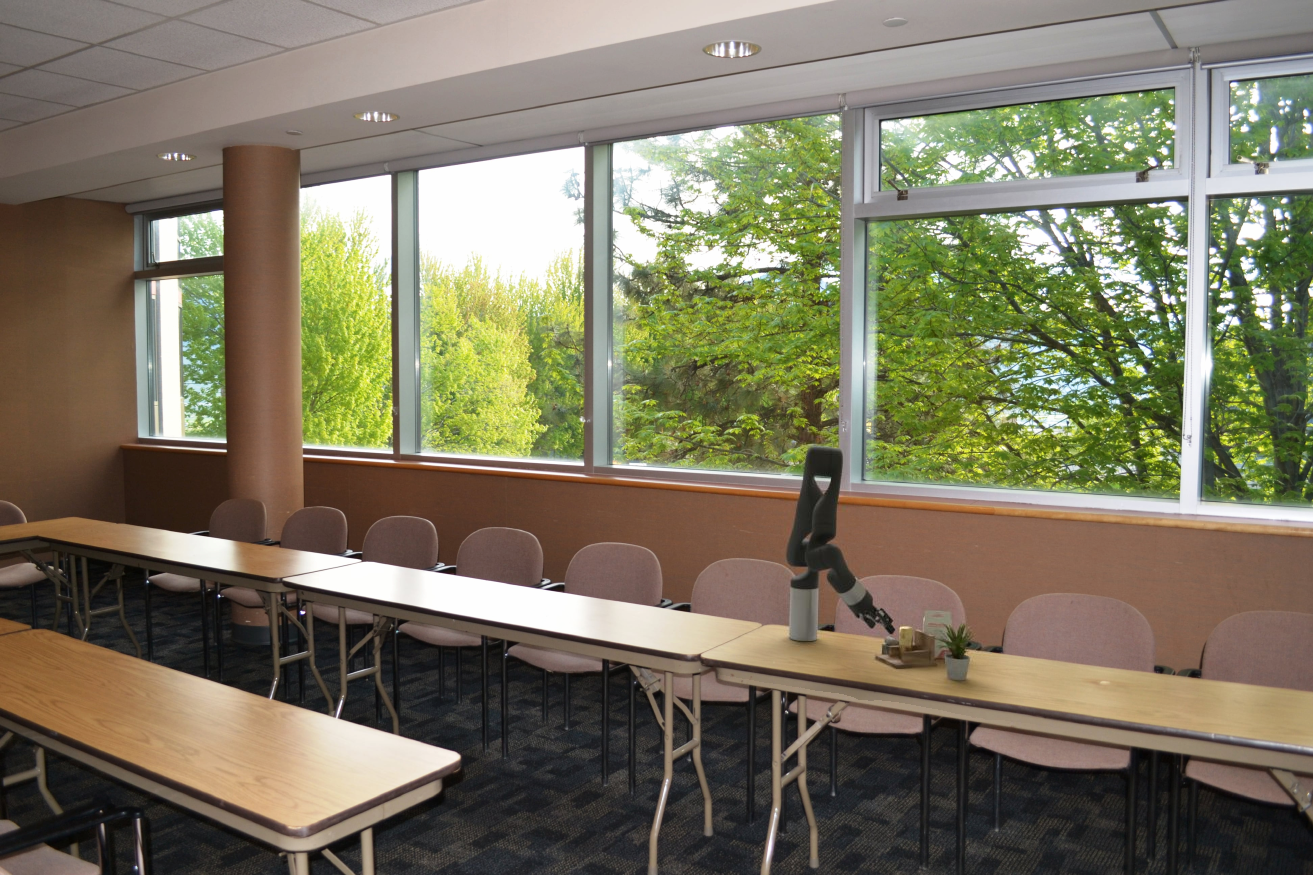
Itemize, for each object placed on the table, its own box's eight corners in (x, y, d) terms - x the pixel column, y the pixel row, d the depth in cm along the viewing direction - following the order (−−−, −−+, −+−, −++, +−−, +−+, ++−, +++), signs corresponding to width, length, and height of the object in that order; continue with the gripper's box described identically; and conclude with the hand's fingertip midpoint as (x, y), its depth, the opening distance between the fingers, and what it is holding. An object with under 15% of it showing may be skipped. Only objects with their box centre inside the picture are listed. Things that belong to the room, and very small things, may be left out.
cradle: (867, 654, 304) (868, 627, 304) (906, 651, 309) (907, 625, 309) (896, 668, 289) (897, 640, 288) (937, 665, 293) (937, 637, 293)
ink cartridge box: (950, 655, 305) (951, 608, 304) (951, 659, 300) (952, 612, 300) (922, 653, 307) (923, 607, 306) (922, 657, 302) (923, 610, 302)
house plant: (936, 667, 291) (938, 613, 290) (984, 673, 284) (986, 618, 284) (925, 678, 278) (926, 622, 278) (975, 686, 272) (977, 628, 271)
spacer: (896, 657, 298) (896, 626, 298) (907, 656, 299) (908, 625, 299) (903, 660, 294) (904, 629, 294) (915, 659, 295) (915, 628, 295)
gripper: (877, 588, 281) (906, 624, 287) (845, 580, 293) (874, 614, 299) (863, 608, 278) (892, 644, 284) (831, 599, 291) (860, 633, 297)
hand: (883, 629), depth 292 cm, fingers open, 8 cm apart
